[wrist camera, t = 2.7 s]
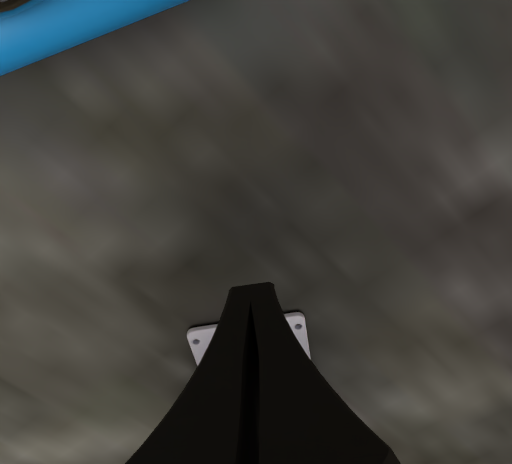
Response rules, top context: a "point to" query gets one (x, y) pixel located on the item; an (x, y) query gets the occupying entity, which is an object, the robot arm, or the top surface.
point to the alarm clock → (63, 25)
